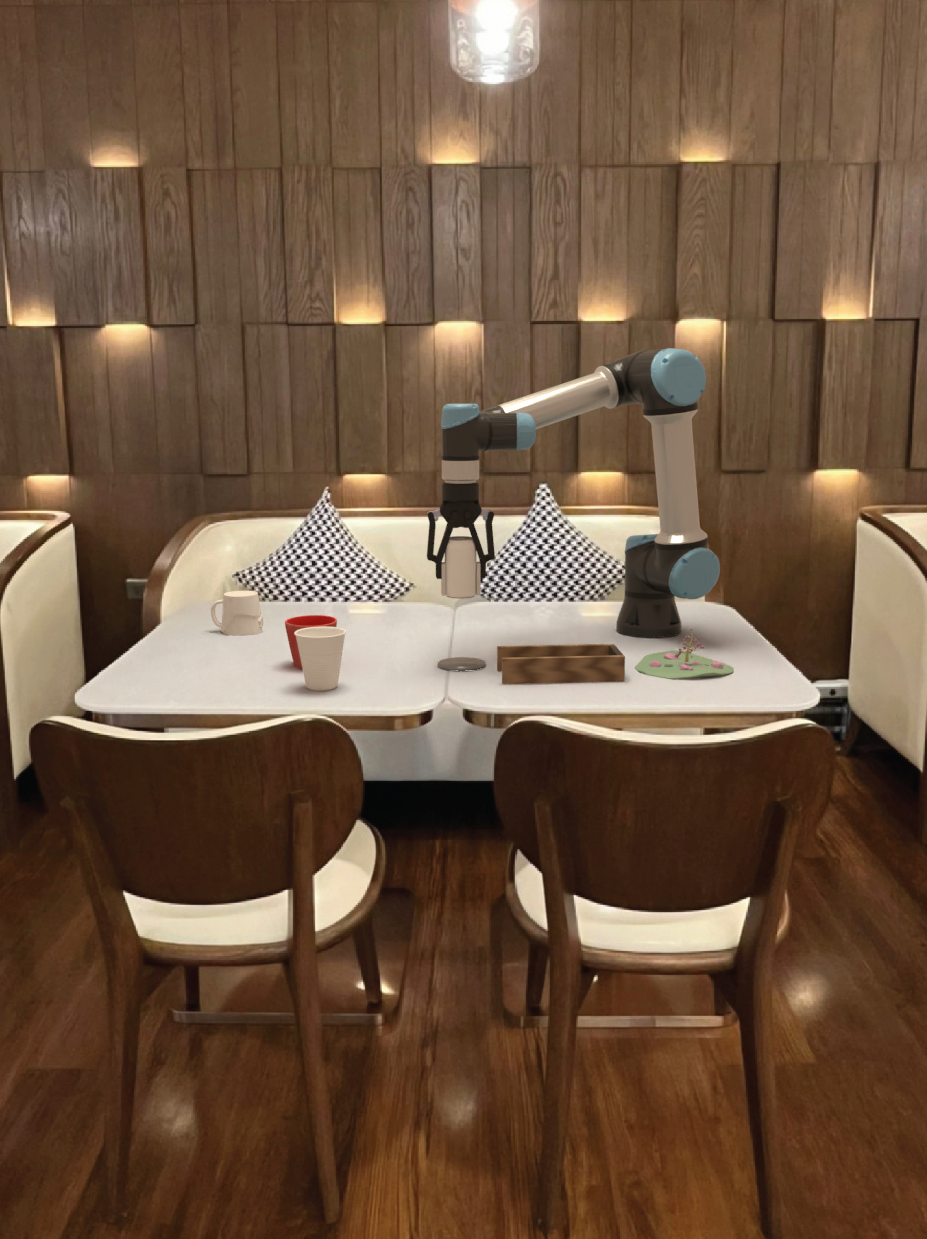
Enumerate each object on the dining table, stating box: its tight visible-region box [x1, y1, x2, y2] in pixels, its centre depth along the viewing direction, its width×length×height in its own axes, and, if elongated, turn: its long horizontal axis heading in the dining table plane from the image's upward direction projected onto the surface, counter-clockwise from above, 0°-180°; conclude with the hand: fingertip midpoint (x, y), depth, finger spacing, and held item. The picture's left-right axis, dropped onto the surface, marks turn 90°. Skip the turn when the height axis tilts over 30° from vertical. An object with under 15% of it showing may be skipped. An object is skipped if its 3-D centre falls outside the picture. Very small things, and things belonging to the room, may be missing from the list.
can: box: [444, 535, 477, 600], centre depth 235 cm, size 6×6×12 cm
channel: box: [496, 643, 626, 685], centre depth 230 cm, size 24×11×5 cm, turn 94°
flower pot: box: [284, 614, 338, 670], centre depth 239 cm, size 11×11×10 cm
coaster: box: [437, 656, 487, 672], centre depth 239 cm, size 10×10×1 cm
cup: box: [294, 626, 347, 692], centre depth 221 cm, size 10×10×11 cm
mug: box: [210, 590, 264, 637], centre depth 272 cm, size 12×9×8 cm
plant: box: [634, 628, 735, 680], centre depth 238 cm, size 25×21×9 cm
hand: (460, 594), depth 236 cm, fingers closed on can, 6 cm apart
